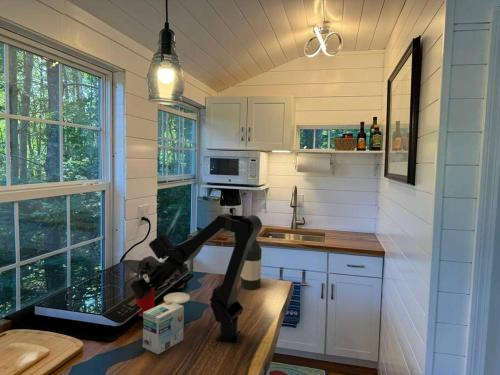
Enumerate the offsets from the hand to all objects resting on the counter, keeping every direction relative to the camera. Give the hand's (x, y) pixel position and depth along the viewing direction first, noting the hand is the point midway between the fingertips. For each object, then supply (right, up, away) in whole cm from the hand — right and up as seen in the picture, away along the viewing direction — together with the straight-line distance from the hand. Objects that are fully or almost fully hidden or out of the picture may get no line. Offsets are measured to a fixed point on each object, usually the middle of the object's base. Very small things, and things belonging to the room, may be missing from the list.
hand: (142, 294), depth 124 cm
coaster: (+9, -6, +14) cm, 18 cm away
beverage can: (+1, -7, 0) cm, 7 cm away
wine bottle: (+38, -6, +29) cm, 49 cm away
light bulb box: (+12, -9, -19) cm, 24 cm away
